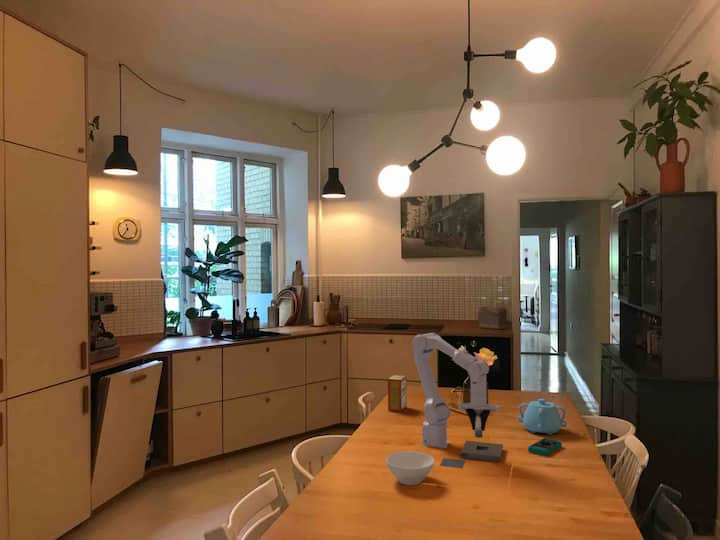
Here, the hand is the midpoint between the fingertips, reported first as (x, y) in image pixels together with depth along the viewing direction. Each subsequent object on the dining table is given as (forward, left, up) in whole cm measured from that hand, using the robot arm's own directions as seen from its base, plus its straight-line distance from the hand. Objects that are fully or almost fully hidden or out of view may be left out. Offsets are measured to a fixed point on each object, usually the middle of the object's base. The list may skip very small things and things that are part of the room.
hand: (478, 429), depth 201 cm
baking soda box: (-46, +55, -10) cm, 72 cm away
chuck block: (+1, +2, -10) cm, 10 cm away
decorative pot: (+22, +40, -10) cm, 47 cm away
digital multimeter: (+23, +15, -11) cm, 30 cm away
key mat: (-8, -11, -10) cm, 17 cm away
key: (0, 0, -2) cm, 2 cm away
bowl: (-19, -30, -10) cm, 37 cm away
